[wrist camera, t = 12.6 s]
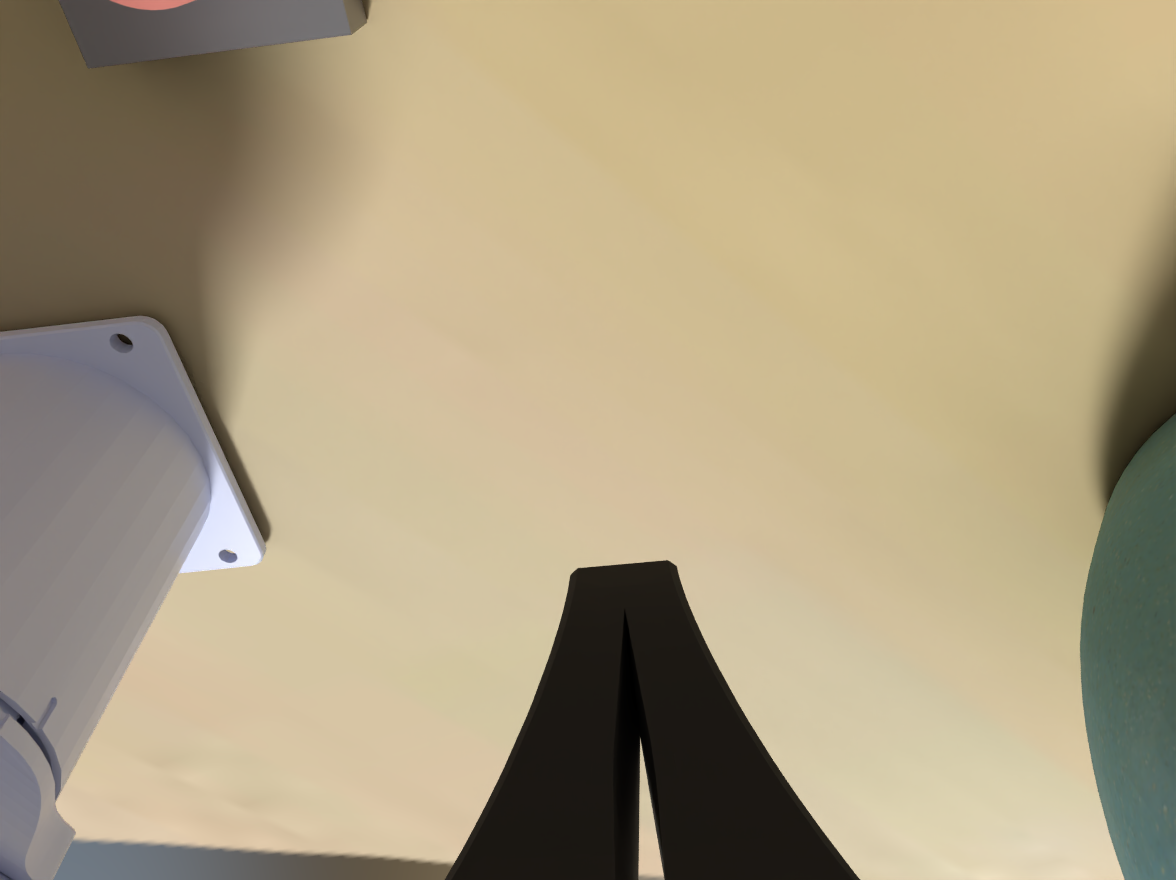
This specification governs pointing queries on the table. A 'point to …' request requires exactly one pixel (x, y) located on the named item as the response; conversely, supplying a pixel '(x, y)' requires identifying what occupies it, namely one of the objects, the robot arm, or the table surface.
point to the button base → (202, 27)
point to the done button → (152, 4)
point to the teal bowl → (1135, 661)
